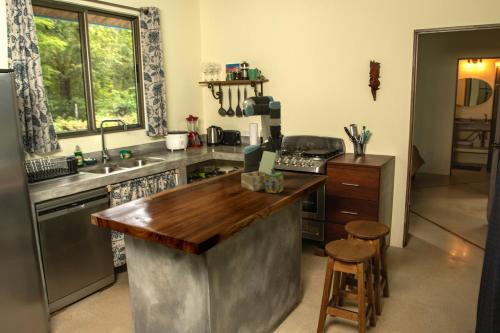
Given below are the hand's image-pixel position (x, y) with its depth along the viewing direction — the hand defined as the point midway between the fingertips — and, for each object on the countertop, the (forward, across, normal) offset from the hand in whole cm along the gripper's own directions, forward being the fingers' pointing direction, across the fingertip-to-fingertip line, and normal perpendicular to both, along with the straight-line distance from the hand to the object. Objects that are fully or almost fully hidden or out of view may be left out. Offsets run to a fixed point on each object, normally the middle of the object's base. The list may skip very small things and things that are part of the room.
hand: (276, 160), depth 264 cm
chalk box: (+17, +14, +16) cm, 27 cm away
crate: (+16, +17, 0) cm, 23 cm away
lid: (+1, +7, 0) cm, 7 cm away
